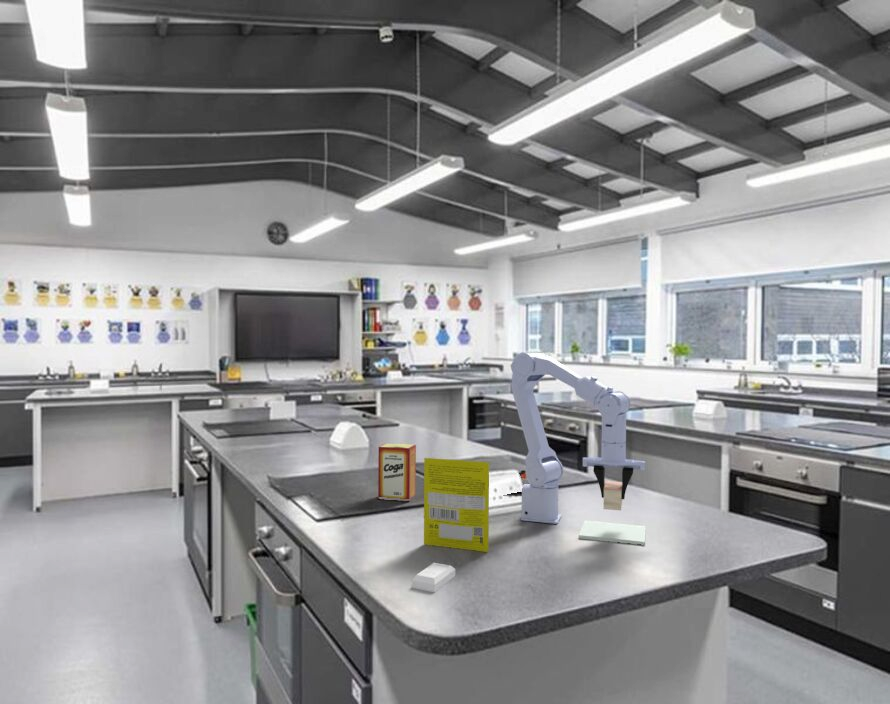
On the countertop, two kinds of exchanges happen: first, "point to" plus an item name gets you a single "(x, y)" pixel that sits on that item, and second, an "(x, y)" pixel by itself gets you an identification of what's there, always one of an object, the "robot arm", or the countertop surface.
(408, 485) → the baking soda box
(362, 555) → the countertop surface
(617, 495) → the maple block
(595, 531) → the mat
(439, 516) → the food package
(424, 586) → the soap bar
